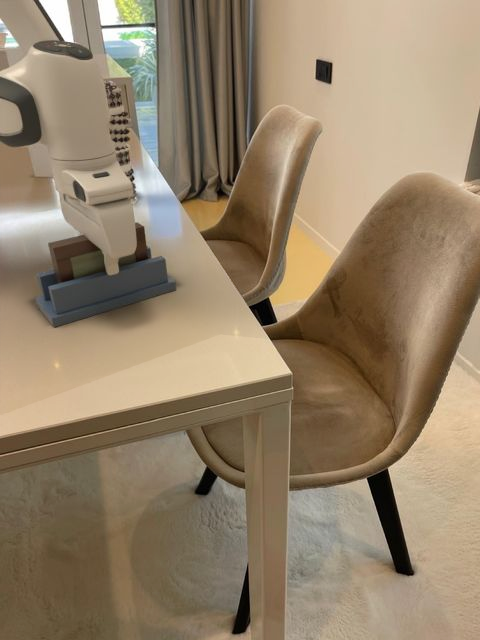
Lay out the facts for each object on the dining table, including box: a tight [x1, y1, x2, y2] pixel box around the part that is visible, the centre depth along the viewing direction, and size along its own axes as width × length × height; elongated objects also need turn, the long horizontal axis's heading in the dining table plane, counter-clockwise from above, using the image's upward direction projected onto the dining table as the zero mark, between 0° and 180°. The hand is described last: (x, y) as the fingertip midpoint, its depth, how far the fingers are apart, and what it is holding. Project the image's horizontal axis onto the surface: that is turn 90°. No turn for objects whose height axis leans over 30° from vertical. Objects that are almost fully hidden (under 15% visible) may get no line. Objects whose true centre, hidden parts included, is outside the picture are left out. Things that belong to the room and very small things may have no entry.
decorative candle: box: [103, 80, 138, 205], centre depth 122 cm, size 9×9×25 cm
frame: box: [47, 222, 148, 284], centre depth 85 cm, size 2×14×9 cm, turn 126°
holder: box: [34, 245, 177, 328], centre depth 87 cm, size 8×20×6 cm, turn 126°
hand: (103, 265), depth 85 cm, fingers open, 5 cm apart
